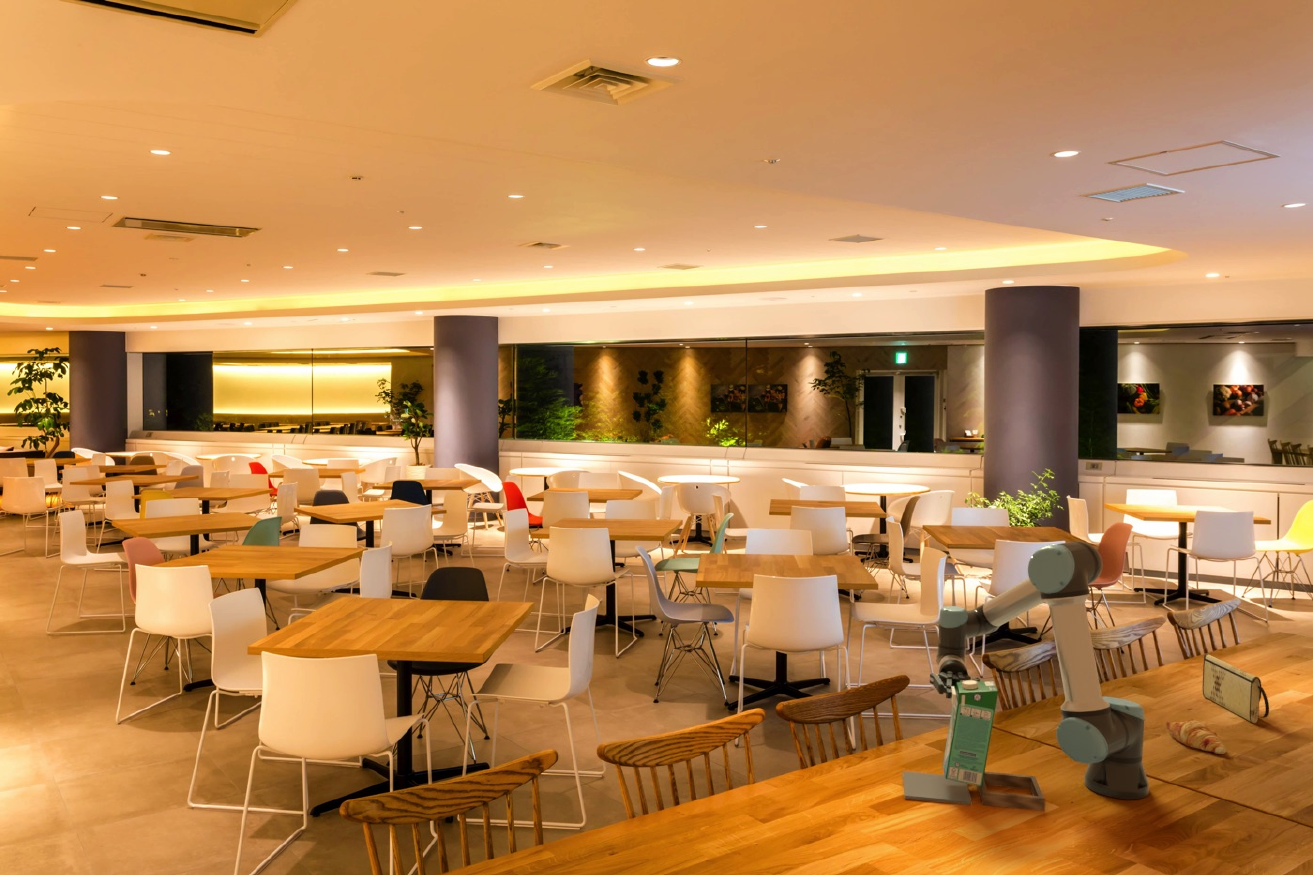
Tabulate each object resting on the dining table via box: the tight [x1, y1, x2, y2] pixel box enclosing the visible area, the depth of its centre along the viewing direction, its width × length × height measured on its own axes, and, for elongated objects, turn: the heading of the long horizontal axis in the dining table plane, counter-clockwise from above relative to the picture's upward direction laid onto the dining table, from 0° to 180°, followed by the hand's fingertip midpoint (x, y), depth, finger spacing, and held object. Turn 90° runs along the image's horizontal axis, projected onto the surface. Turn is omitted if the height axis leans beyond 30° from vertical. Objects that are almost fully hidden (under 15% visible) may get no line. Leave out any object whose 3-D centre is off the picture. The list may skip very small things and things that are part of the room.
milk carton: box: [942, 680, 999, 787], centre depth 252 cm, size 9×9×25 cm
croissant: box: [1165, 719, 1227, 755], centre depth 289 cm, size 21×10×8 cm, turn 17°
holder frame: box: [977, 771, 1046, 812], centre depth 250 cm, size 14×14×3 cm
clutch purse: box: [1202, 653, 1270, 724], centre depth 320 cm, size 30×7×15 cm, turn 2°
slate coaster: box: [902, 770, 972, 806], centre depth 254 cm, size 16×16×1 cm
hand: (958, 699), depth 248 cm, fingers open, 1 cm apart
